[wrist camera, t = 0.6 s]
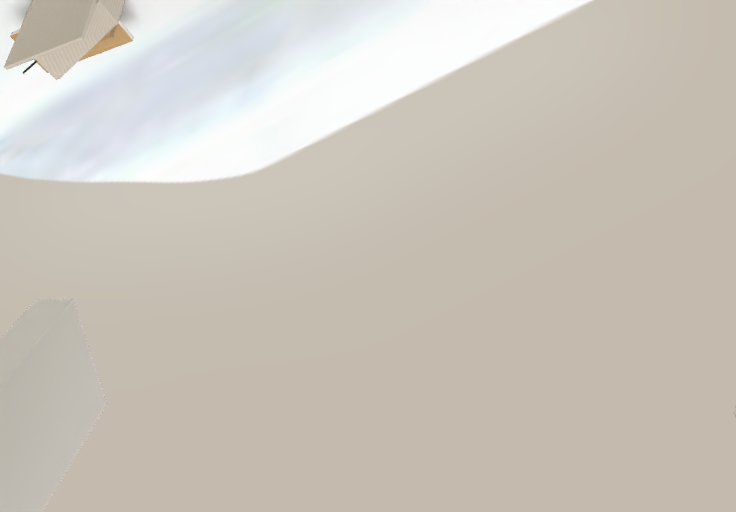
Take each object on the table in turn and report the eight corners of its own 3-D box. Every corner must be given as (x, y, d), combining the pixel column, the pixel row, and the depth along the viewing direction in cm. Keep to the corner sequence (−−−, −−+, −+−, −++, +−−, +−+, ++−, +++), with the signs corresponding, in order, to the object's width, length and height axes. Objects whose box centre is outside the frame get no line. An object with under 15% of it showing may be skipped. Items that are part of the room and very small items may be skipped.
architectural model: (145, 2, 44) (124, 80, 40) (61, 36, 46) (32, 113, 42) (110, -43, 41) (84, 35, 37) (22, -6, 43) (-13, 73, 39)
